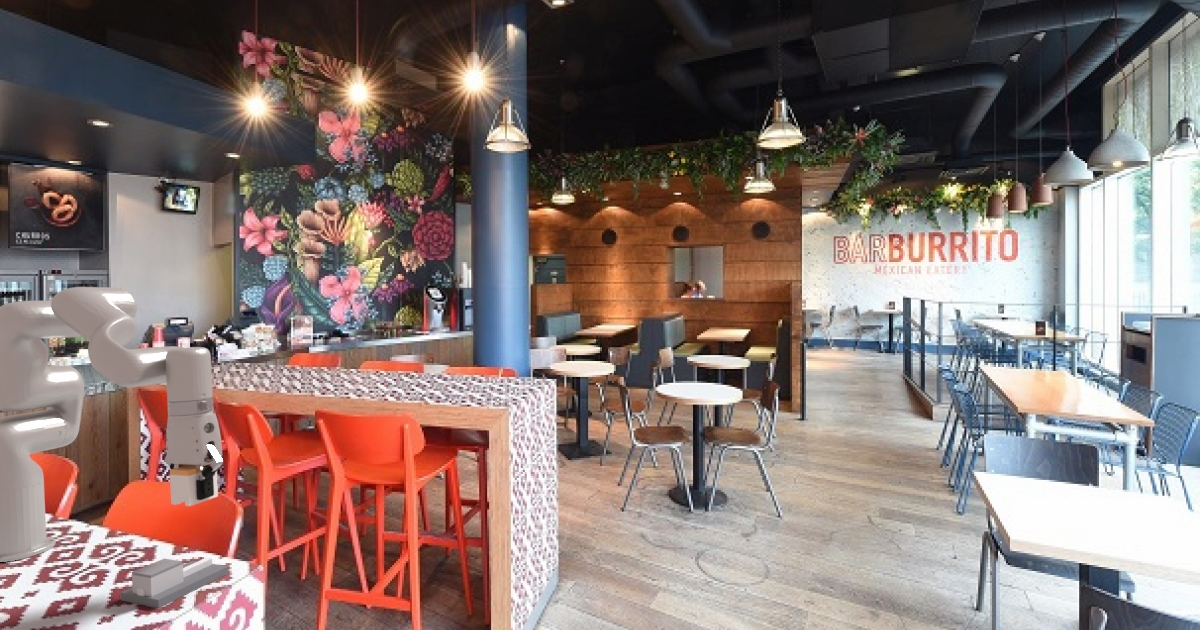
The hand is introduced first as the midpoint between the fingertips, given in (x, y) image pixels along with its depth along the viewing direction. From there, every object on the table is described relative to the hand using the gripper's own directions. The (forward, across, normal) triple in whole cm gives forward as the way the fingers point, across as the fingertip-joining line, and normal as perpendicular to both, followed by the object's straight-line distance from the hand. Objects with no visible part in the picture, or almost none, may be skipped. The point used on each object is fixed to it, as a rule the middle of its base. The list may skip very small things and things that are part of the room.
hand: (195, 496), depth 118 cm
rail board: (+17, +1, +4) cm, 17 cm away
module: (+1, 0, 0) cm, 1 cm away
